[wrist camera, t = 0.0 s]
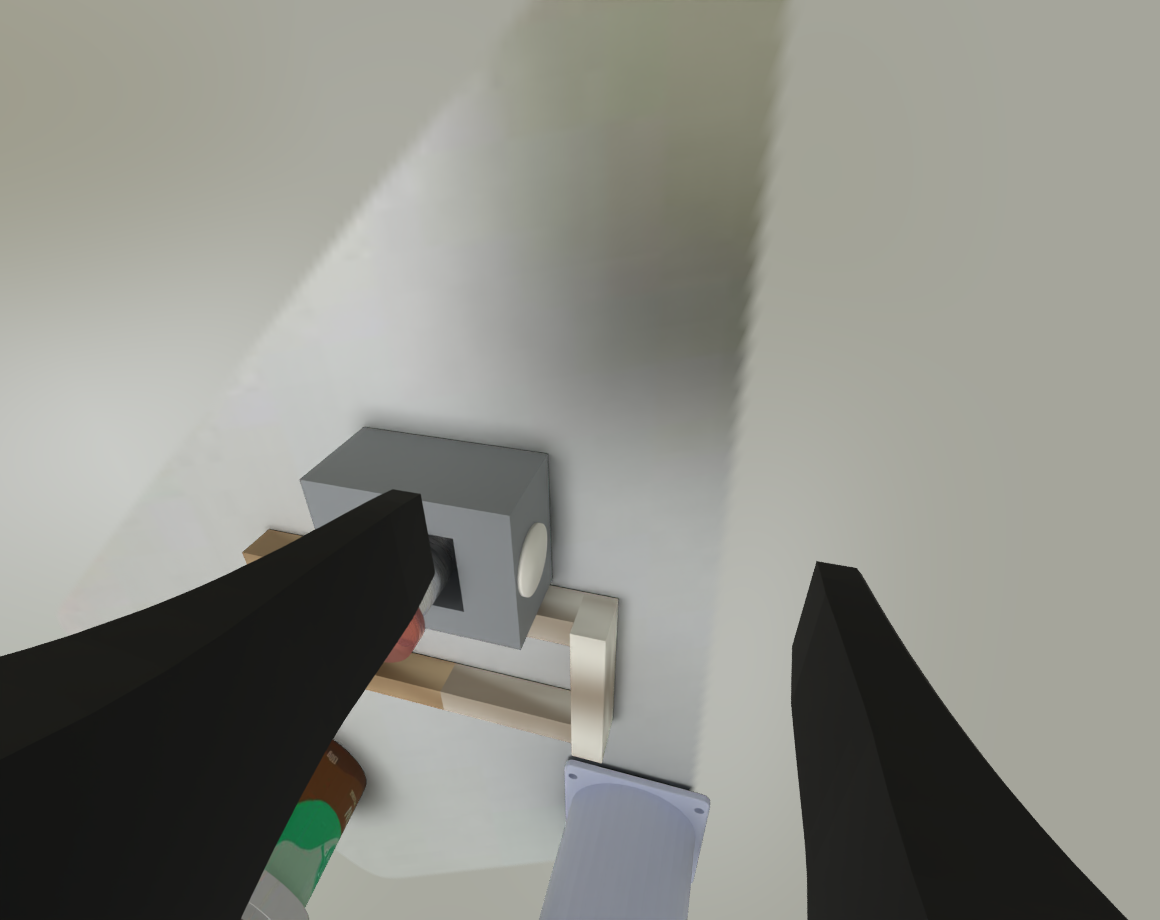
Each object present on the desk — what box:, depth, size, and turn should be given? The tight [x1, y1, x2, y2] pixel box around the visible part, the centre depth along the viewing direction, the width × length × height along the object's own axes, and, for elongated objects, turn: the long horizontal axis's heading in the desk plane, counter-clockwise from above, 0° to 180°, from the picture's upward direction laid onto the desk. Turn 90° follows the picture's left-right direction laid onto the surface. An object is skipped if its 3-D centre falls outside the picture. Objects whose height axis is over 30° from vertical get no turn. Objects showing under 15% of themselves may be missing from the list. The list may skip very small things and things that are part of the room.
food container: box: [241, 739, 366, 920], centre depth 38 cm, size 12×6×10 cm, turn 165°
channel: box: [242, 530, 618, 763], centre depth 28 cm, size 9×18×2 cm, turn 90°
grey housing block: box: [300, 427, 552, 650], centre depth 23 cm, size 6×8×4 cm
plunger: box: [384, 534, 457, 663], centre depth 21 cm, size 3×3×5 cm
